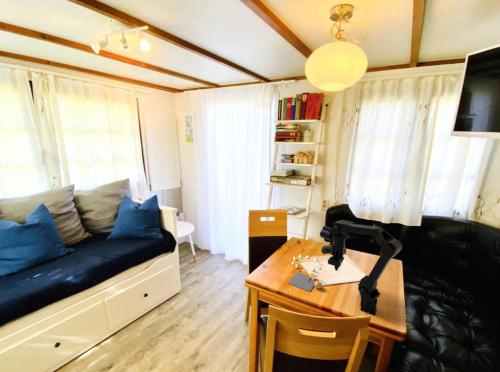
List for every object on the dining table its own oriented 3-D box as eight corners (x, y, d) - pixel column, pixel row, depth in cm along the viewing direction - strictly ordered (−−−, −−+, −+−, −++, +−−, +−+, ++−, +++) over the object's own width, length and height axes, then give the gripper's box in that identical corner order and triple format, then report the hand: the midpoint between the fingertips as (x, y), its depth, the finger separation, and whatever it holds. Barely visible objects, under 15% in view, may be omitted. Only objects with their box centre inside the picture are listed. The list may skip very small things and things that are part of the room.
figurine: (311, 287, 127) (304, 270, 138) (313, 294, 130) (305, 277, 141) (326, 283, 127) (317, 266, 138) (327, 290, 130) (318, 273, 141)
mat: (318, 279, 139) (318, 278, 138) (309, 292, 127) (309, 291, 127) (297, 272, 146) (297, 271, 146) (288, 283, 134) (288, 282, 134)
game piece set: (325, 273, 146) (325, 267, 146) (293, 272, 147) (293, 266, 146) (317, 257, 165) (317, 252, 165) (289, 257, 166) (289, 252, 165)
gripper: (327, 234, 136) (325, 259, 139) (318, 246, 120) (316, 273, 123) (348, 238, 130) (345, 264, 133) (341, 252, 115) (338, 280, 118)
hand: (336, 270), depth 127 cm, fingers closed
